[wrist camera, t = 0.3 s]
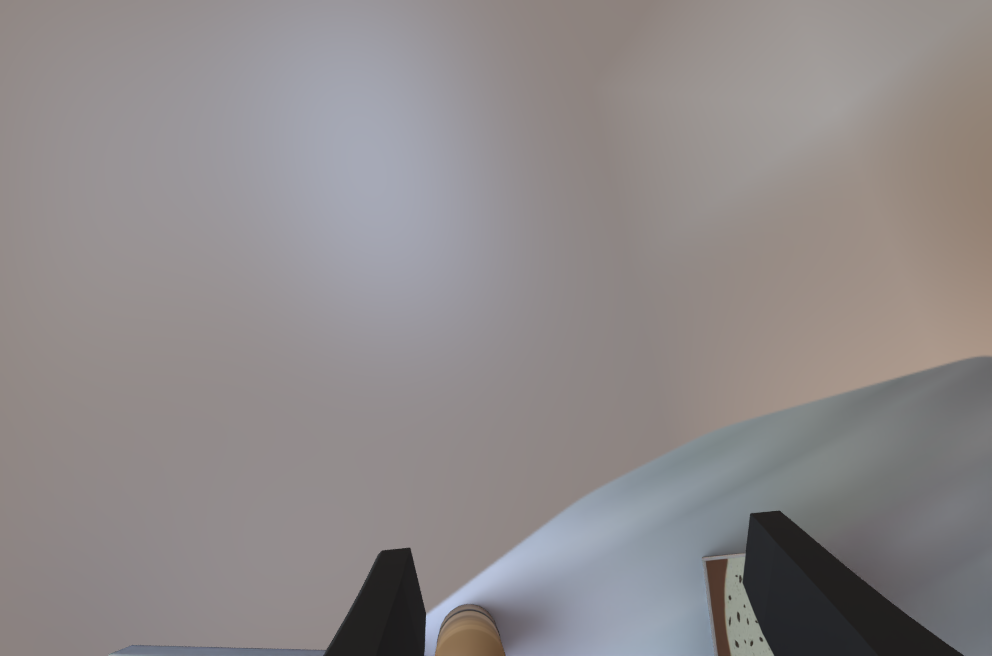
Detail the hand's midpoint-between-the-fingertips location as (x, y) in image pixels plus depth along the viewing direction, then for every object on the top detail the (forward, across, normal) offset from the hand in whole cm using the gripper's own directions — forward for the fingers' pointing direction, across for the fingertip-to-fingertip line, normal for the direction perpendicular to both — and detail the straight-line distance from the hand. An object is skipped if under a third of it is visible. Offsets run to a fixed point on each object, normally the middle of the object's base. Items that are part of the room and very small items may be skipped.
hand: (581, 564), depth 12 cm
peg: (+16, +6, +25) cm, 30 cm away
